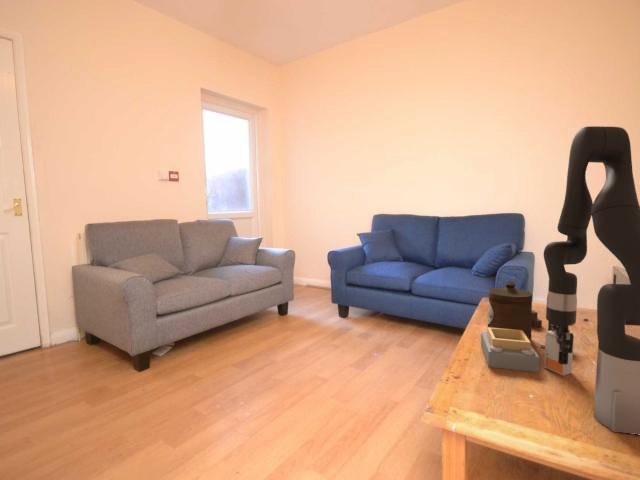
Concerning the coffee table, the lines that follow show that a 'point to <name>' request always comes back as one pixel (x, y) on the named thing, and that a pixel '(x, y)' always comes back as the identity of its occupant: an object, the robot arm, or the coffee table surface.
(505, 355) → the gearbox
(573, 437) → the coffee table surface
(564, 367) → the skincare box
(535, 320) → the stack of crates
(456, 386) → the coffee table surface
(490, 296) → the wooden container
